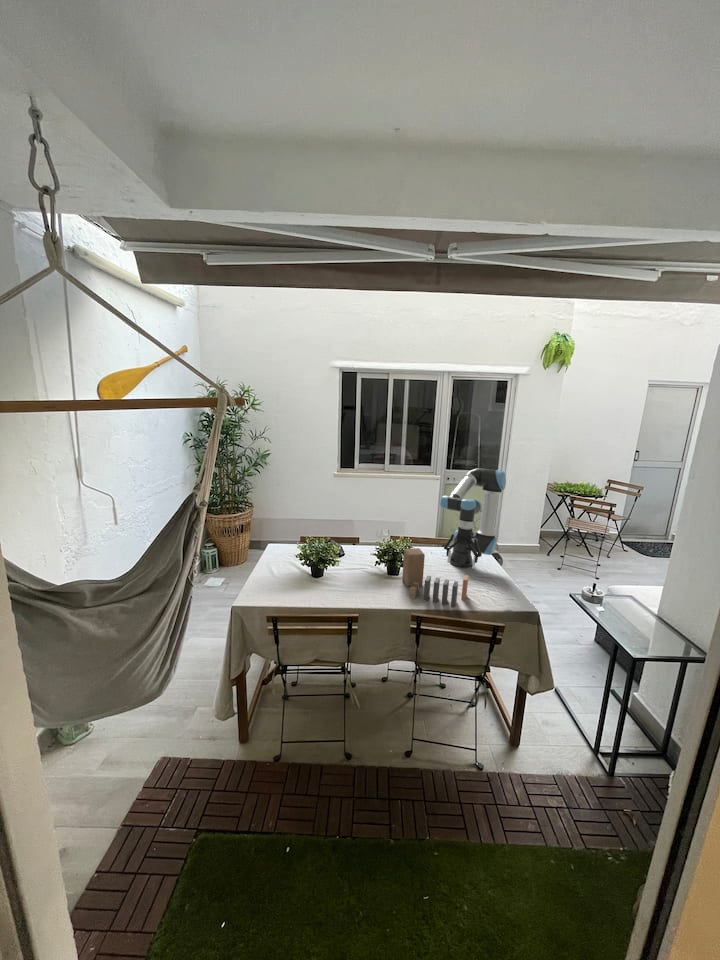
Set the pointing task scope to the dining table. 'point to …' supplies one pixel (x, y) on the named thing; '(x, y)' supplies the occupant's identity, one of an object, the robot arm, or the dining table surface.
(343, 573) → the dining table surface
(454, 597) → the domino
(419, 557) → the block
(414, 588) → the end stop
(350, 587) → the dining table surface
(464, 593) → the domino
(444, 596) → the domino
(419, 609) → the dining table surface
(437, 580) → the domino
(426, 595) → the domino
